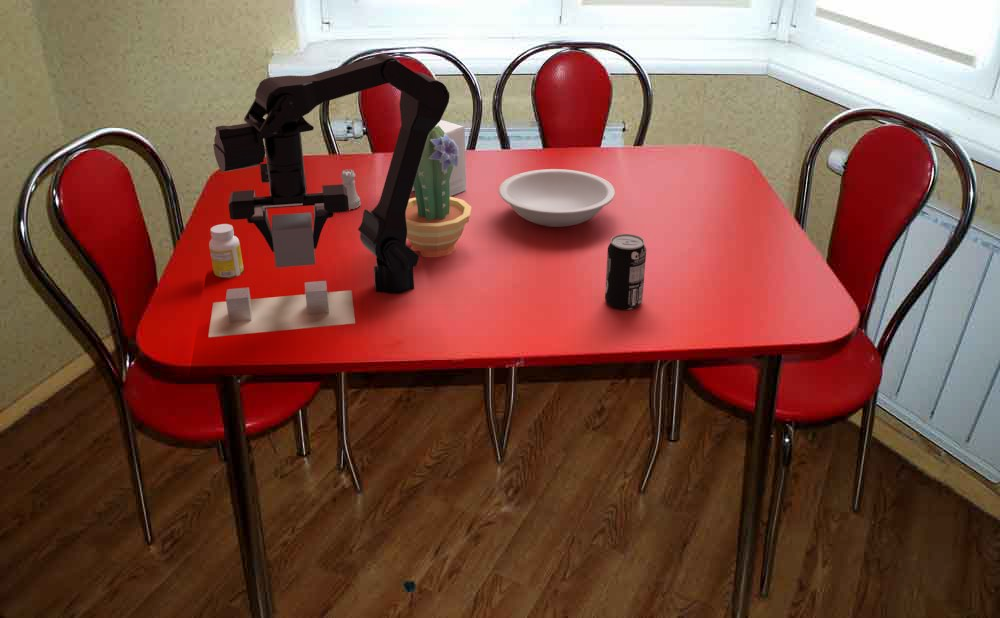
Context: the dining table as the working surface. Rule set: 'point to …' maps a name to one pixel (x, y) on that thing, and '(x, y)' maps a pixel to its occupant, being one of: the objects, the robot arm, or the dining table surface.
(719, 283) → the dining table surface
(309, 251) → the gray matte cube
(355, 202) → the rook chess piece
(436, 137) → the potted cactus
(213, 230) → the supplement bottle
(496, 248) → the dining table surface
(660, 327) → the dining table surface
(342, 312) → the board
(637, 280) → the beverage can
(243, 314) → the brushed metal cube
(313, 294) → the grey cube
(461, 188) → the supplement box
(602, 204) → the soup bowl
